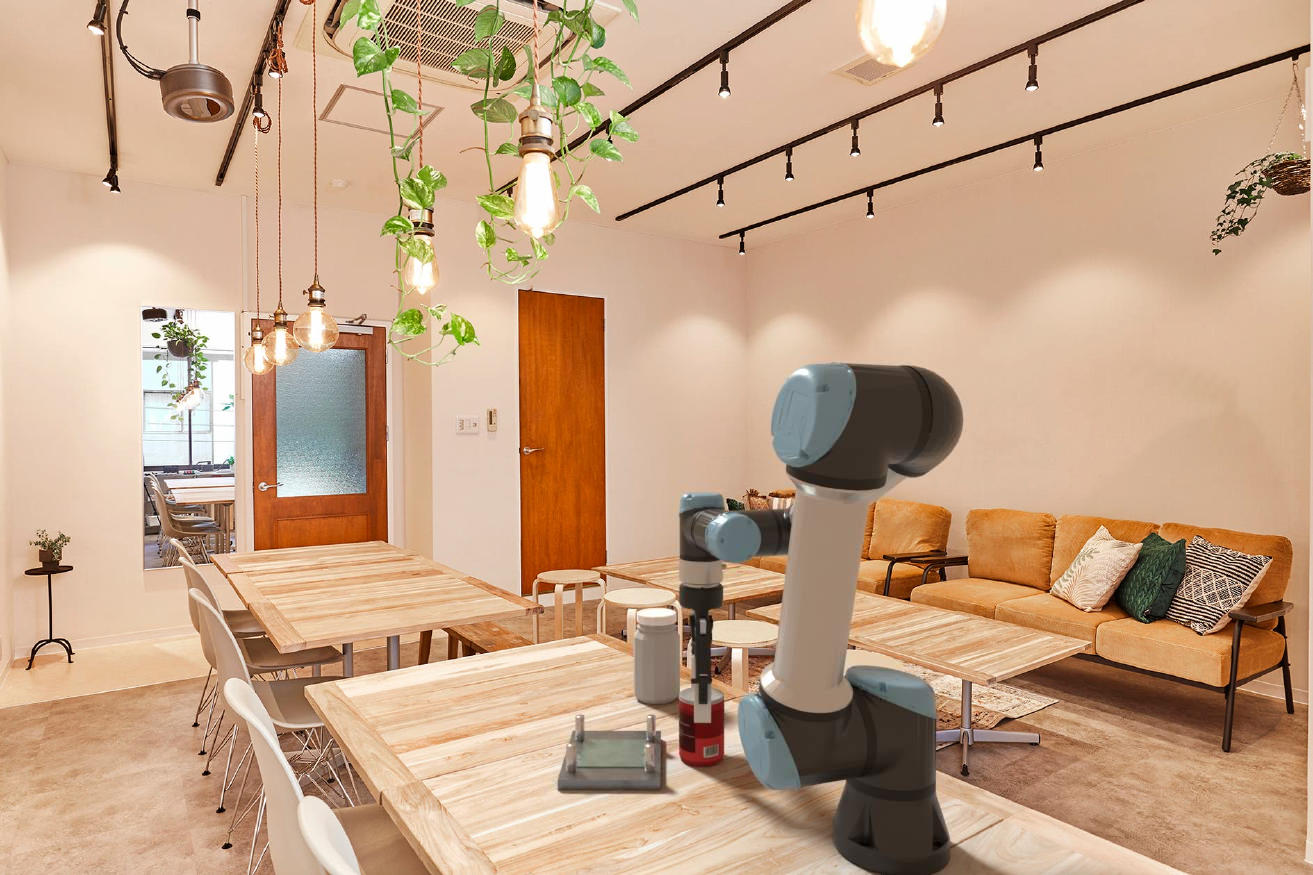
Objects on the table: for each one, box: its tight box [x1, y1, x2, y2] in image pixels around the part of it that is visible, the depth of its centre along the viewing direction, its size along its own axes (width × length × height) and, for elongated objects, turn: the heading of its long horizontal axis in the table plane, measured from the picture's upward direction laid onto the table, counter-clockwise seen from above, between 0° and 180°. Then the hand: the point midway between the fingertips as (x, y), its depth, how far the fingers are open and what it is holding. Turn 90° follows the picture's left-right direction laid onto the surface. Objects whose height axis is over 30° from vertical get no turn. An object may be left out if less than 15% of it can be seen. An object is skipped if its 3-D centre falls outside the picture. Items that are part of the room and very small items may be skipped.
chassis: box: [557, 714, 662, 791], centre depth 130 cm, size 20×16×6 cm
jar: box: [633, 607, 681, 705], centre depth 162 cm, size 10×10×18 cm
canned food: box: [678, 687, 725, 768], centre depth 132 cm, size 8×8×11 cm
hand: (700, 706), depth 132 cm, fingers open, 13 cm apart
